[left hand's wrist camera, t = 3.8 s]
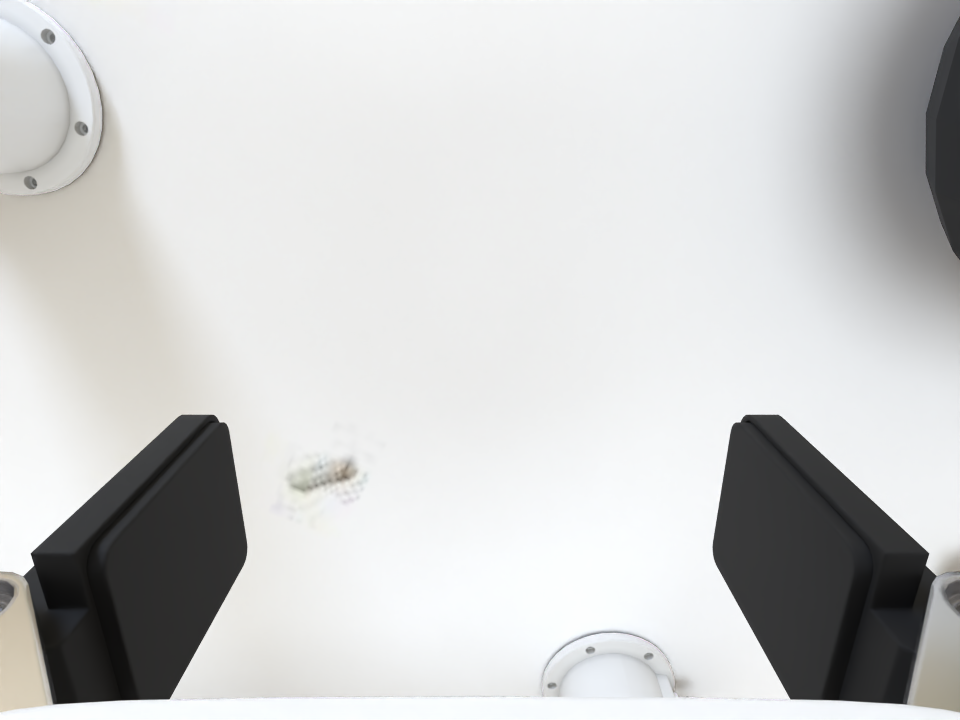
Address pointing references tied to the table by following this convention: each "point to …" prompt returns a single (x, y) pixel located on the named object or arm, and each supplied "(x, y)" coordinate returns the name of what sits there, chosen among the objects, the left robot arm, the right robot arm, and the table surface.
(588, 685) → the right robot arm
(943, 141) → the decorative sphere
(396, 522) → the table surface
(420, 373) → the table surface
